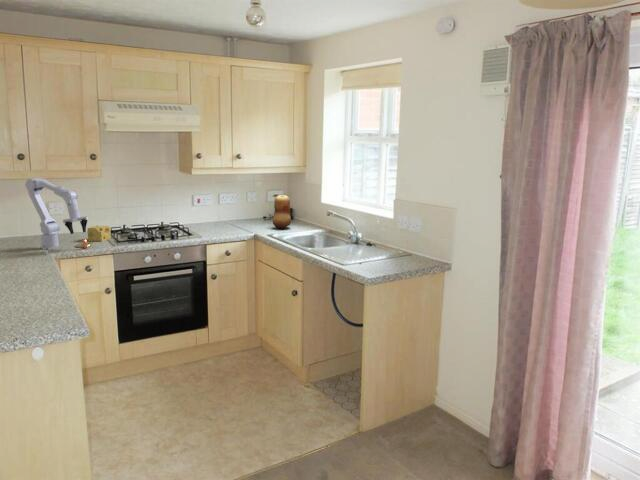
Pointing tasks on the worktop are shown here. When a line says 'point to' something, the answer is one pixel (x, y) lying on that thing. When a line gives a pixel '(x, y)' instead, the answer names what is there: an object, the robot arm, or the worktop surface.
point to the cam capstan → (84, 244)
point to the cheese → (99, 233)
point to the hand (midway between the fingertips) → (78, 232)
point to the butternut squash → (282, 212)
